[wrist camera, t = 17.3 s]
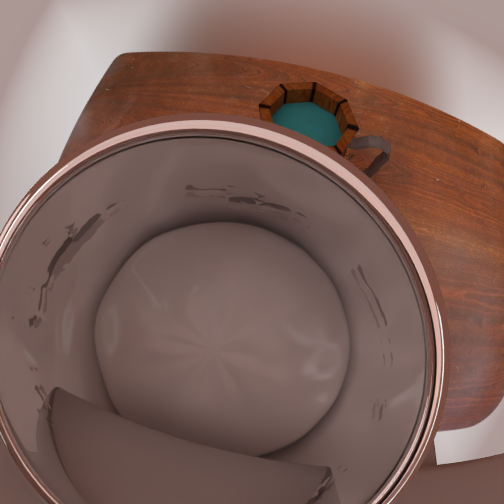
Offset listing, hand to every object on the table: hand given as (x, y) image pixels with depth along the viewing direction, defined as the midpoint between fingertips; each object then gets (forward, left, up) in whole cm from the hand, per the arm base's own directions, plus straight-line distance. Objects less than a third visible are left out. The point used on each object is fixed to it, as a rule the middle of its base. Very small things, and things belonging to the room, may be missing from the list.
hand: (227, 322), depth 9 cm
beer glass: (0, -1, -9) cm, 9 cm away
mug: (+13, +23, -37) cm, 46 cm away
